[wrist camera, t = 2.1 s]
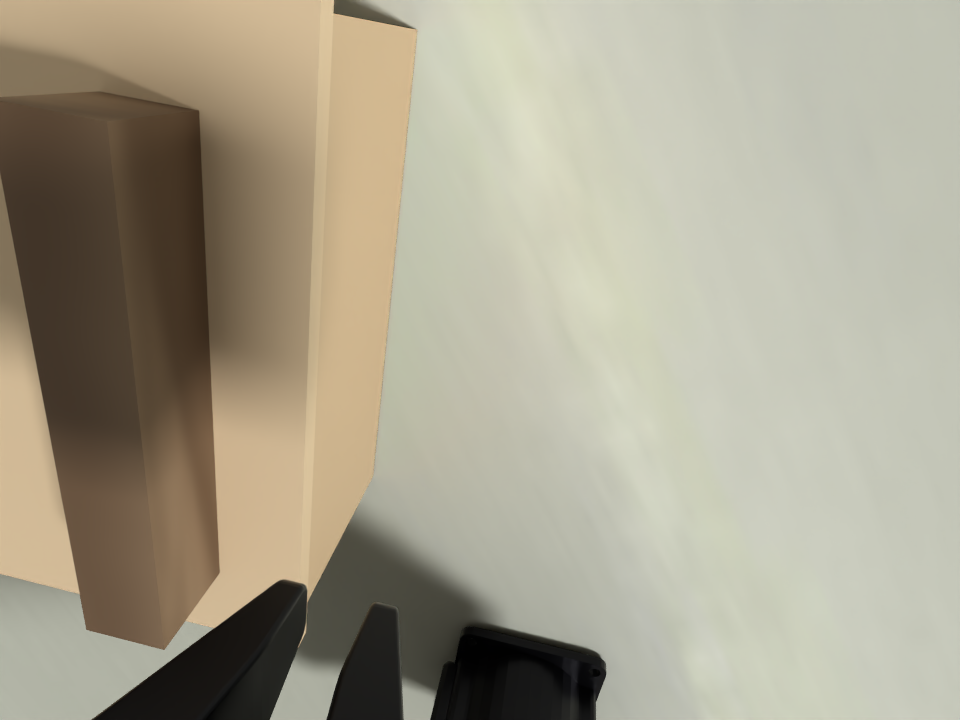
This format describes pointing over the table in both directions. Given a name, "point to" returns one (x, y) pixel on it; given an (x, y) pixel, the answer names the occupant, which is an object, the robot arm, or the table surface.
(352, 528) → the table surface
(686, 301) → the table surface
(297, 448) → the mailer lid
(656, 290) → the table surface
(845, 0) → the table surface
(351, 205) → the mailer box
